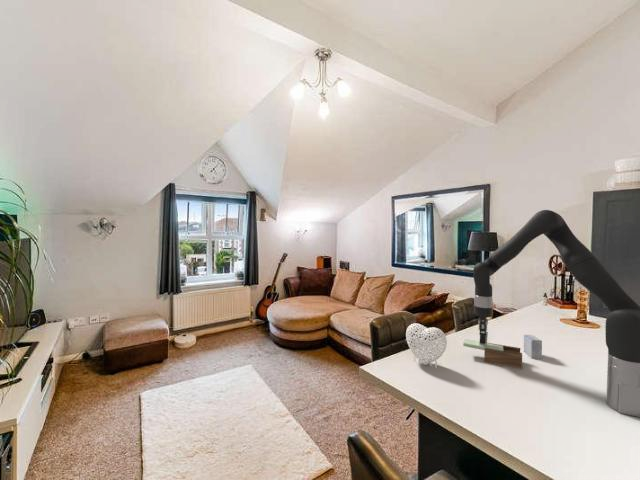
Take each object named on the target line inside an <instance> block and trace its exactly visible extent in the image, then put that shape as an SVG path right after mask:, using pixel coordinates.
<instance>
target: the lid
mask: <svg viewBox="0 0 640 480" xmlns="http://www.w3.org/2000/svg"><path fill="white" fill-rule="evenodd" d="M488 332H489V331H486V336H485V344H481V343H480V341H478V340H472V339H467V338H464V340H463V347H466V348H471V349H476V350H480V351H481V350H482V351H485V348H488V349H494V350H500V351H504V350H503V346H499V345H500V344H499V345H493V344H494V343H492V344H488V343H489V342H488V335H489V333H488ZM482 333H485V332H482Z"/></svg>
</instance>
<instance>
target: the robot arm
mask: <svg viewBox="0 0 640 480" xmlns="http://www.w3.org/2000/svg"><path fill="white" fill-rule="evenodd" d="M542 235H544V236H545V237H546V238H547V239H548V240H549V241H550V242H551V244H553V245H554V246H555V248H556V249H557V251H558V254H559V256H560V258H561V261H563V264H564V266H565V267H566V269H567V270H568V271H569V272H570V274H571V275H572V276H573V278H574V279H575V280H576V281H577V282H578V283H579V284H580V285H581V286H582V287H584V288H585V289H587V290H588V291H589V292H591V293H592V294H593V295H595V296H596V297H597V298H598V299H600V300H601V302H602V303H603V304H604V305H605V307H606V308H607V309H608V310H609V313H608V314H607V316H606V318H605V327H604V328H605V329H604V330H605V345H606V347H607V371H606V373H607V375H606V400H605V401H606V404H607V406H609V408H611V409H613V410H615V411H617V412H618V413H619V414H624V415H628V416H632V417H638V418H640V305H639V304H638V303H637V302H636V301H635V300H633V298H631V296H629V294H628V293H626V291H625V290H624V289H623V288H622V286H621V285H620V284H619V283H618V282H617V281H616V279H615V278H614V277H613V276H612V275H611V273H610V272H609V271H608V270H607V269H606V267H605V266H604V265H603V264H602V263H601V261H600V260H599V259H598V258H597V256H596V255H595V254H594V253H592V251H591V250H590V249H589V248H587V246H586V245H585V244H583V243H582V241H580V240H579V239H578V238H577V237H576V235H575V234H574V233H573V231H572V230H571V228H570V227H569V226H568V224H567V222H566V220H565V219H564V218H563V216H561V215H560V214H559V213H557V212H555V211H553V210H549V209H542V210H539V211H538V212H536V213H534V215H533V216H532V217H531V218H530V219H529V220H528V221H527V222H525V224H524V225H523V226H522V228H520V229H519V230H518V231H517V232H516V233H515V234H514V235H513V236H512V237H511V238H510V239H508V240H507V241H506V242H505V243H503V244H502V245H500V247H498V248H497V249H495V250H494V251H493V252H492V253H491V254H490V256H489V257H488V258H486V259H485V260H483V261H481V262H477V263H476V264H475V265H474V266H473V270H472V274H473V275H472V276H473V281H474V299H473V303H474V304H473V314H474V315H475V317H476V316H477V317H478V318H477V319H478V320H477V323H478V331H479V333H478V334H479V342H480V343H481V344H485V336H486V332H488V324H489V323H488V322H489V320H488V319H487V318H492V317H493V311H494V310H493V307H494V306H493V303H494V301H493V285H492V284H491V282H490V281H491V278H490V277H491V276H493V275H494V274H495V273H496V272H498V271H499V270H500V269H501V268H502V267H504V266H505V265H507V264H508V263H509V262H510V261H512V260H513V259H515V258H516V257H517V256H518V255H520V253H521V252H523V250H524V249H525V248H526V247H527V246H528V245H529V243H531V242H532V241H533V240H534V239H536V238H538V237H539V236H542ZM482 332H485V333H482Z"/></svg>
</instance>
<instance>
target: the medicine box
mask: <svg viewBox="0 0 640 480" xmlns="http://www.w3.org/2000/svg"><path fill="white" fill-rule="evenodd" d="M523 352H524V354H526V355H528V356H529V357H530V358H531V359H538V360H541V359H543V341H542V339H540V338H539V337H537V336H536V335H534V334H524V335H523Z"/></svg>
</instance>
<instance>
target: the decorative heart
mask: <svg viewBox="0 0 640 480" xmlns="http://www.w3.org/2000/svg"><path fill="white" fill-rule="evenodd" d="M405 338H406V339H405V340H406V342H407V345H408V347H409V349H410V351H411V353H412V354H413V362H416V359H417V360H418V361H417V362H418V363H421V364H423V365H424V366H426V365H427V366H428V365H429V364H430V365H429V366H430V367H432V365H433V364H432V363H433V362H435V363H434V364H435V368H436V369H437V367H438V361H437V360H438V359H440V358H441V357H442V356H443V355H444V353H445V351H446V349H447V345H448V344H447V343H448V340H447V337H446V334H445V332H443V330H441V329H440V328H437V327H434V326H433V327H427V326H424V324H420V323H418V322H417V323H416V322H414V323H411V324H410V325H409V326H407V328H406V332H405Z"/></svg>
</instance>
